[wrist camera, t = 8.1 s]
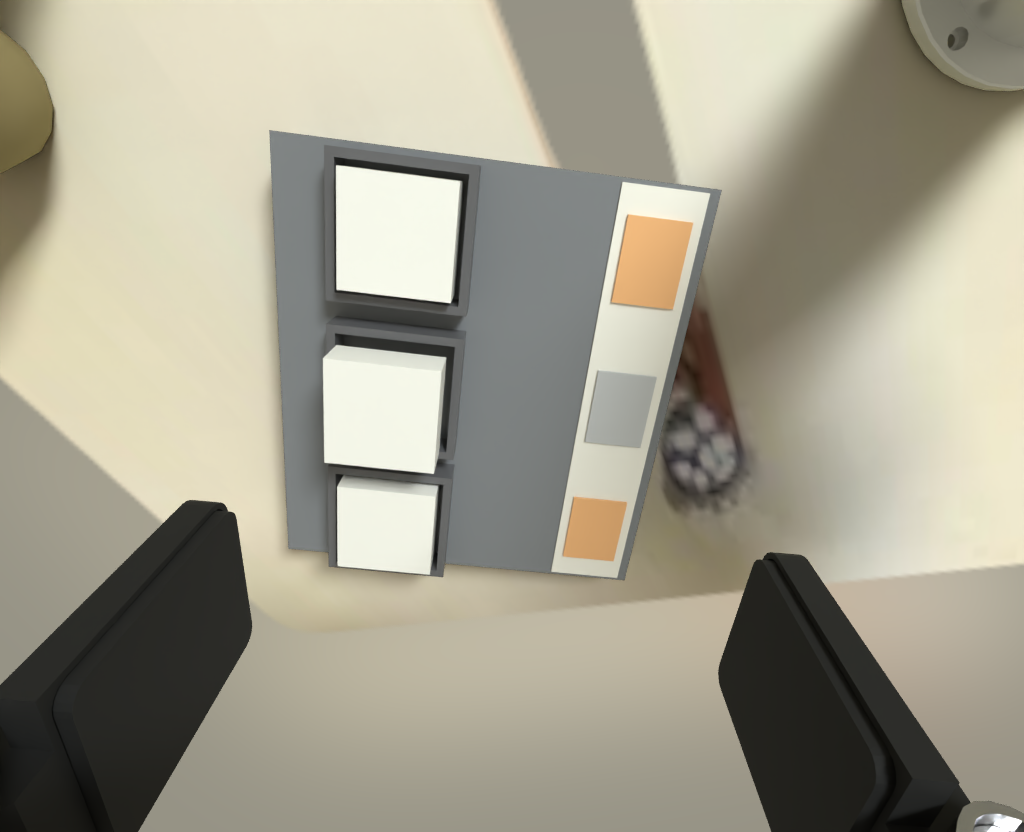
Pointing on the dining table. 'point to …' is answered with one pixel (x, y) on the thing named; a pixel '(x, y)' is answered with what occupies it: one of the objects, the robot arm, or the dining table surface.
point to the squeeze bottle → (21, 105)
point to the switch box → (501, 350)
